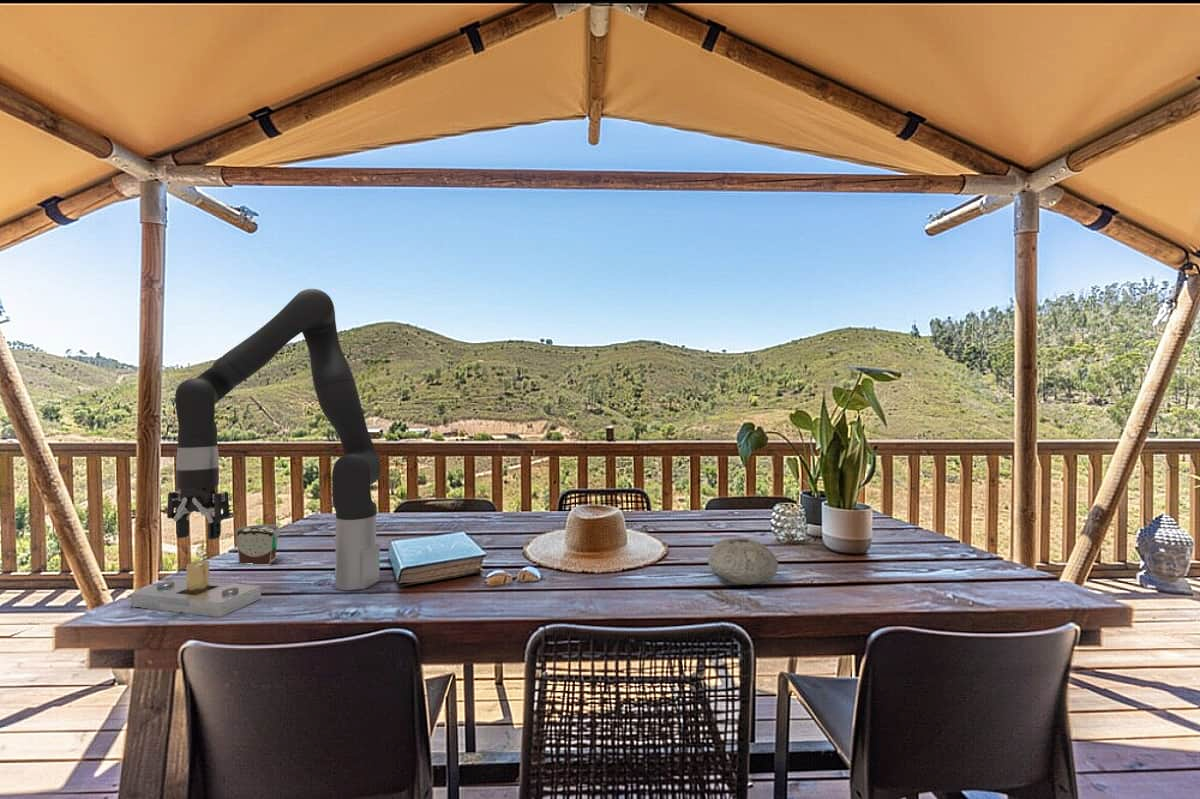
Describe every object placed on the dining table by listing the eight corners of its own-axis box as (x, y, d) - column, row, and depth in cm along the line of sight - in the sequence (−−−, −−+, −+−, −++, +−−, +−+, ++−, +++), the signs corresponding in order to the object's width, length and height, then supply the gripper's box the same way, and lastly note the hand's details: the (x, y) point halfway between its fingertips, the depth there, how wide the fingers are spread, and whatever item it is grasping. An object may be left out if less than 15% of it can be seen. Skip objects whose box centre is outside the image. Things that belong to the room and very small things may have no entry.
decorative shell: (792, 587, 125) (792, 547, 125) (733, 596, 119) (733, 554, 119) (748, 565, 142) (748, 530, 142) (694, 572, 136) (694, 536, 136)
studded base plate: (260, 599, 115) (261, 583, 115) (220, 617, 106) (220, 600, 106) (177, 590, 120) (177, 575, 120) (130, 607, 110) (131, 590, 110)
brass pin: (213, 600, 114) (213, 561, 114) (196, 607, 110) (196, 566, 111) (199, 598, 115) (199, 560, 115) (181, 605, 111) (181, 565, 111)
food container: (290, 559, 145) (291, 524, 145) (274, 565, 139) (275, 530, 139) (251, 557, 146) (252, 523, 146) (234, 564, 140) (234, 528, 140)
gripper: (239, 465, 115) (239, 534, 115) (188, 464, 118) (188, 532, 118) (208, 469, 108) (208, 544, 108) (155, 468, 110) (155, 541, 110)
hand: (198, 537), depth 113 cm, fingers open, 8 cm apart
